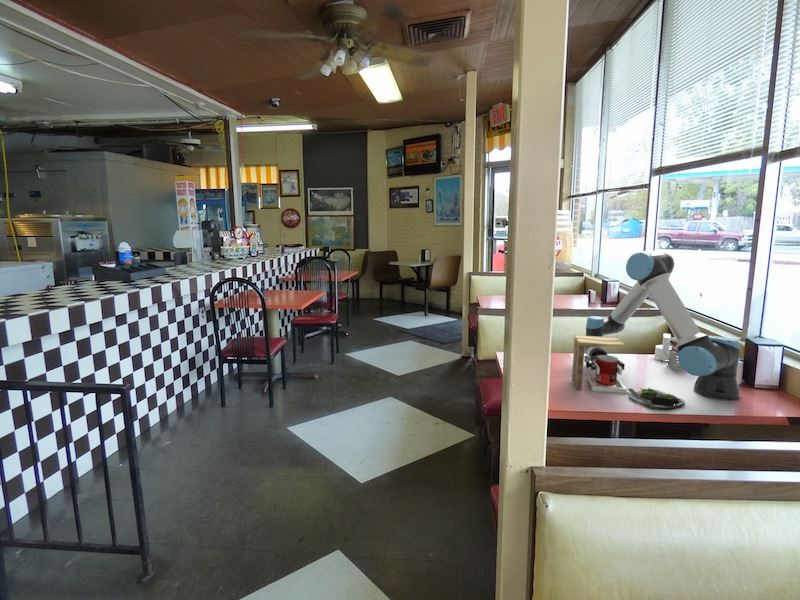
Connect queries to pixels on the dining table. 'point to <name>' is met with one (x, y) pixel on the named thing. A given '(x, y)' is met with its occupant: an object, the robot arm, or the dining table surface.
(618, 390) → the shallow square white tray
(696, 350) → the robot arm
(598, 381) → the canned food
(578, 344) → the wooden l-shaped stand
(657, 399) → the salad plate
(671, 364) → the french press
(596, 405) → the dining table surface
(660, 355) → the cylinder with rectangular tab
